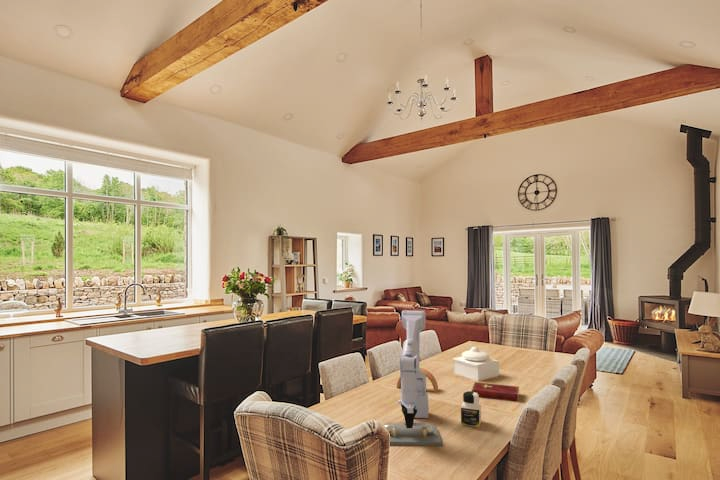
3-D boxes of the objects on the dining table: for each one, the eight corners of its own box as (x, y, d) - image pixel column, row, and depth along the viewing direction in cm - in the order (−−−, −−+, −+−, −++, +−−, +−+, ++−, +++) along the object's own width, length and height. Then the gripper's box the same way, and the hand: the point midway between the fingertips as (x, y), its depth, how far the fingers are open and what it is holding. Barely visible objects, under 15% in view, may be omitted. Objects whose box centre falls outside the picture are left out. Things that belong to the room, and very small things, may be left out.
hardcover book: (518, 402, 194) (518, 393, 194) (471, 397, 201) (471, 388, 202) (519, 394, 205) (519, 386, 205) (474, 389, 213) (474, 381, 213)
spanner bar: (432, 432, 158) (432, 422, 158) (434, 436, 154) (434, 426, 155) (383, 431, 158) (383, 421, 159) (383, 435, 155) (383, 425, 155)
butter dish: (498, 376, 235) (498, 347, 236) (477, 381, 225) (477, 351, 226) (474, 369, 250) (473, 342, 250) (452, 374, 240) (452, 346, 240)
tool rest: (436, 429, 163) (436, 419, 163) (441, 445, 149) (441, 434, 149) (379, 428, 164) (379, 418, 164) (379, 444, 150) (379, 433, 150)
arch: (399, 385, 220) (399, 365, 220) (438, 389, 212) (438, 369, 213) (396, 388, 214) (396, 368, 215) (435, 393, 207) (435, 372, 207)
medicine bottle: (461, 425, 167) (460, 394, 168) (463, 418, 174) (463, 389, 174) (479, 427, 165) (479, 396, 165) (481, 420, 171) (480, 391, 172)
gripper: (397, 382, 164) (397, 418, 164) (399, 395, 150) (399, 433, 149) (415, 383, 164) (415, 418, 164) (419, 395, 150) (419, 434, 149)
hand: (408, 425), depth 157 cm, fingers closed on spanner bar, 3 cm apart
